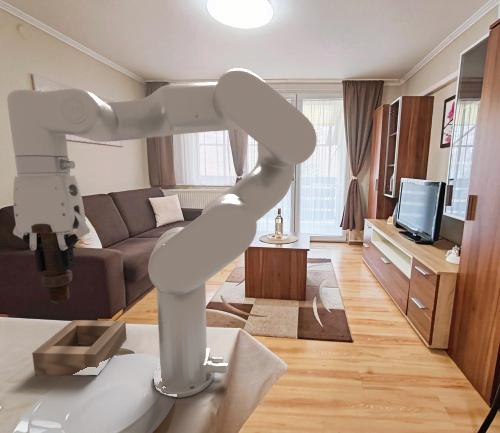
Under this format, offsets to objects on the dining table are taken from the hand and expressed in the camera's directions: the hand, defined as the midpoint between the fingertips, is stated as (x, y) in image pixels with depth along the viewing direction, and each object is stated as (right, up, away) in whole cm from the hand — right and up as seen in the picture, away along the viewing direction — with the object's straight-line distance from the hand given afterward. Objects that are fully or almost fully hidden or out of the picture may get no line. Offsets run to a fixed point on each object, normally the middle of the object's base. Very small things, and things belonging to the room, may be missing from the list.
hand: (56, 268), depth 53 cm
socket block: (-3, -23, +15) cm, 27 cm away
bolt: (0, -6, +1) cm, 7 cm away
